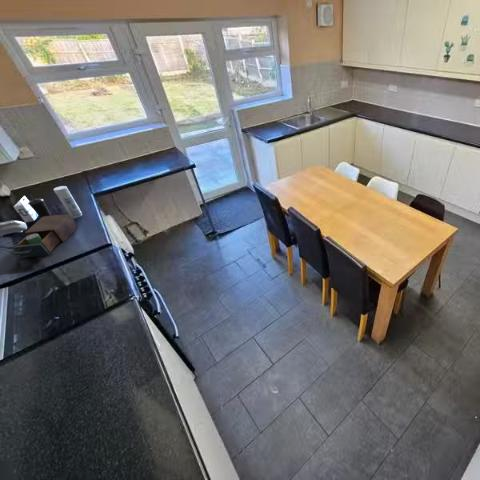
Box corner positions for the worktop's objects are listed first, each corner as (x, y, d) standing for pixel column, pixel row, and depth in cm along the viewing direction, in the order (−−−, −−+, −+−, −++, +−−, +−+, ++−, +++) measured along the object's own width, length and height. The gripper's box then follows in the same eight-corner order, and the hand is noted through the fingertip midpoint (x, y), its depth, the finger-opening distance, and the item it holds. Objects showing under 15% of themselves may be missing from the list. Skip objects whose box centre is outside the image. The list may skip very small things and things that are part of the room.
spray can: (77, 212, 184) (61, 185, 173) (85, 213, 183) (69, 186, 171) (68, 217, 179) (50, 189, 168) (76, 218, 178) (58, 190, 166)
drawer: (44, 261, 145) (34, 250, 140) (16, 264, 143) (5, 253, 138) (65, 238, 161) (56, 227, 156) (40, 241, 159) (30, 230, 154)
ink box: (29, 216, 181) (15, 196, 173) (39, 214, 183) (25, 195, 175) (24, 222, 175) (9, 202, 166) (34, 220, 177) (19, 200, 168)
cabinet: (63, 242, 159) (53, 229, 153) (36, 245, 157) (24, 232, 151) (78, 226, 171) (69, 213, 165) (53, 229, 170) (42, 216, 164)
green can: (33, 251, 150) (22, 240, 144) (39, 245, 154) (29, 233, 149) (44, 250, 150) (34, 238, 145) (50, 244, 155) (40, 232, 149)
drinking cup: (55, 215, 182) (37, 188, 170) (56, 220, 177) (38, 192, 166) (40, 220, 178) (20, 192, 166) (41, 224, 173) (21, 196, 162)
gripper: (13, 215, 124) (33, 222, 137) (-48, 227, 117) (-21, 233, 130) (16, 228, 124) (36, 233, 136) (-45, 241, 116) (-17, 246, 129)
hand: (8, 233), depth 133 cm, fingers open, 8 cm apart
